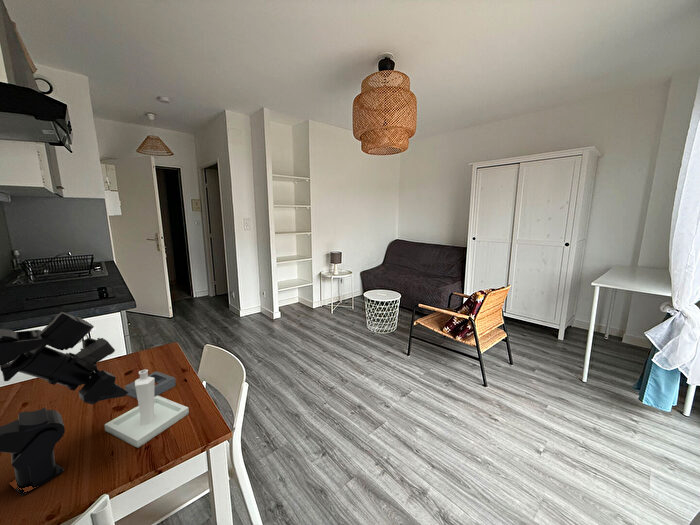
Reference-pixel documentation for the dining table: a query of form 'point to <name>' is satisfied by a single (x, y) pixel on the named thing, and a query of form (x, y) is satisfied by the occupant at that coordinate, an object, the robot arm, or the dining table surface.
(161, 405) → the tray
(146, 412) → the perfume bottle
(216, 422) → the dining table surface
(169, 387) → the bottle collar
